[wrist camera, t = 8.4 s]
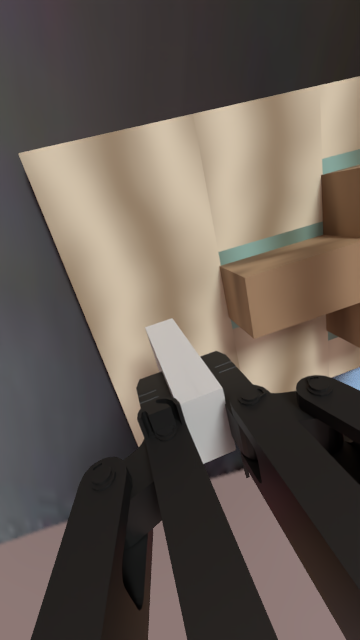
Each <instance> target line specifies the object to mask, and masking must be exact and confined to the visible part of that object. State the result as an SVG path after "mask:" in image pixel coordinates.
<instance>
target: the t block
mask: <svg viewBox="0 0 360 640" xmlns="http://www.w3.org/2000/svg"><path fill="white" fill-rule="evenodd" d="M321 185H322V214H323V235H321V236H317V237H314V238H311V239H307V240H304V241H301V242H298V243H294V244H291V245H288V246H284V247H281V248H278V249H274V250H271V251H268V252H264V253H261V254H258V255H254V256H251V257H248V258H245V259H241V260H238V261H235V262H231V263H228V264H225V265H221V266H219V267H220V272H221V278H222V283H223V289H224V294H225V299H226V305H227V310H228V315H229V318H230V319H231V320H232V321H234V322H235V323H236V324H237V325H238V326H239V327H241V328H242V329H243V330H244V331H245V332H246V333H248V334H249V335H250V336H251V337H252V338H253V339H255V338H258V337H261V336H264V335H267V334H270V333H273V332H276V331H279V330H282V329H285V328H287V327H290V326H293V325H296V324H299V323H302V322H305V321H308V320H311V319H314V318H317V317H320V316H322V315H325V314H326V330H327V331H328V332H330V333H332V334H334V335H336V336H338V337H340V338H342V339H344V340H345V341H347V342H349V343H351V344H353V345H355V346H357V347H359V348H360V165H356V166H353V167H349V168H345V169H341V170H338V171H334V172H330V173H327V174H323V175H321Z"/></svg>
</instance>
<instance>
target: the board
mask: <svg viewBox="0 0 360 640" xmlns="http://www.w3.org/2000/svg"><path fill="white" fill-rule="evenodd" d="M18 154H19V157H20V159H21V161H22V164H23V166H24V169H25V171H26V174H27V176H28V178H29V181H30V183H31V186H32V188H33V191H34V193H35V196H36V198H37V200H38V203H39V205H40V208H41V210H42V213H43V215H44V218H45V220H46V222H47V225H48V227H49V230H50V232H51V235H52V237H53V239H54V242H55V244H56V247H57V249H58V252H59V254H60V257H61V259H62V261H63V264H64V266H65V269H66V271H67V274H68V276H69V279H70V281H71V283H72V286H73V288H74V291H75V293H76V296H77V298H78V300H79V303H80V305H81V308H82V310H83V313H84V315H85V318H86V320H87V322H88V325H89V327H90V330H91V332H92V335H93V337H94V339H95V342H96V344H97V347H98V349H99V352H100V354H101V357H102V359H103V361H104V364H105V366H106V369H107V371H108V374H109V376H110V379H111V381H112V383H113V386H114V388H115V391H116V393H117V396H118V398H119V400H120V403H121V405H122V408H123V410H124V413H125V415H126V418H127V420H128V422H129V425H130V427H131V430H132V432H133V435H134V437H135V440H136V442H137V444H138V447H139V446H140V445H141V444H142V442H143V440H144V436H143V433H142V431H141V428H140V426H139V423H138V421H137V416H138V412H139V410H140V409H141V408H140V403H139V399H138V394H137V390H136V387H137V384H138V382H139V379H142V378H145V377H147V376H150V375H153V374H156V373H158V372H159V369H158V366H157V363H156V360H155V357H154V354H153V351H152V348H151V345H150V342H149V338H148V335H147V332H146V329H145V327H147V326H150V325H153V324H156V323H159V322H162V321H165V320H168V319H171V318H173V320H174V321H175V323H176V324H177V325H178V327H179V328H180V330H181V331H182V332H183V334H184V335H185V336H186V338H187V339H188V341H189V342H190V343H191V345H192V346H193V348H194V349H195V350H196V352H197V353H198V355H199V356H203V355H206V354H209V353H211V352H214V351H218V352H221V353H223V354H226V356H227V357H228V358H229V359H230V360H231V362H233V363H234V364H235V365H236V367H237V368H238V369H239V370H240V371H241V372H242V373H243V374H244V375H245V376H246V377H247V379H248V380H249V381H250V382H251V383H252V384H253V385H258V386H262V387H264V388H265V389H267V390H268V391H269V392H270V393H283V392H291V391H296V385H297V383H298V382H299V381H300V380H301V379H302V378H305V377H307V376H312V375H322V376H327V377H330V378H332V377H334V376H337V375H340V374H342V373H345V372H348V371H350V370H353V369H356V368H358V367H360V348H359V347H357V346H355V345H353V344H351V343H349V342H347V341H345V340H344V339H342V338H340V337H338V336H336V335H334V334H332V333H330V332H328V331H327V330H326V314H325V315H322V316H320V317H317V318H314V319H311V320H308V321H305V322H302V323H299V324H296V325H293V326H290V327H287V328H285V329H282V330H279V331H276V332H273V333H270V334H267V335H264V336H261V337H258V338H255V339H253V338H252V337H251V336H250V335H249V334H248V333H246V332H245V331H244V330H243V329H242V328H241V327H239V326H238V325H237V324H236V323H235V322H234V321H232V320H231V319H230V318H229V315H228V310H227V305H226V299H225V294H224V289H223V283H222V278H221V272H220V267H219V266H221V265H225V264H228V263H231V262H235V261H238V260H241V259H245V258H248V257H251V256H254V255H258V254H261V253H264V252H268V251H271V250H274V249H278V248H281V247H284V246H288V245H291V244H294V243H298V242H301V241H304V240H307V239H311V238H314V237H317V236H321V235H323V214H322V185H321V175H323V174H327V173H330V172H334V171H338V170H341V169H345V168H349V167H353V166H356V165H360V76H359V77H355V78H350V79H346V80H342V81H337V82H333V83H328V84H324V85H319V86H315V87H311V88H306V89H302V90H297V91H293V92H288V93H284V94H280V95H275V96H271V97H266V98H262V99H257V100H253V101H249V102H244V103H240V104H235V105H231V106H226V107H222V108H217V109H213V110H209V111H204V112H200V113H195V114H191V115H186V116H182V117H178V118H173V119H169V120H164V121H160V122H155V123H151V124H147V125H142V126H138V127H133V128H129V129H124V130H120V131H116V132H111V133H107V134H102V135H98V136H93V137H89V138H85V139H80V140H76V141H71V142H67V143H62V144H58V145H53V146H49V147H45V148H40V149H36V150H31V151H27V152H22V153H18Z"/></svg>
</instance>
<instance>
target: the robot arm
mask: <svg viewBox="0 0 360 640" xmlns="http://www.w3.org/2000/svg"><path fill="white" fill-rule="evenodd" d="M145 329H146V332H147V335H148V338H149V342H150V345H151V348H152V351H153V354H154V357H155V360H156V363H157V366H158V369H159V372H158V373H156V374H153V375H150V376H147V377H145V378H142V379H139V382H138V384H137V387H136V390H137V394H138V399H139V403H140V408H141V409H140V410H139V412H138V416H137V421H138V423H139V426H140V428H141V431H142V433H143V436H144V440H143V442H142V444H141V445H140V446H139V448H138V449H137V450H136V451H135V452H134V453H132V454H131V455H130V456H128V457H127V458H126V459H124V460H121V459H119V458H117V457H108V458H105V459H102V460H100V461H98V462H97V463H95V464H94V465H92V466H91V467H90V468H89V469H88V470H87V471H86V473H85V474H84V476H83V478H82V480H81V482H80V484H79V487H78V490H77V494H76V497H75V500H74V503H73V506H72V510H71V513H70V516H69V519H68V522H67V526H66V529H65V532H64V535H63V538H62V542H61V545H60V548H59V551H58V555H57V558H56V561H55V564H54V567H53V570H52V574H51V577H50V580H49V583H48V587H47V590H46V593H45V596H44V599H43V602H42V605H41V609H40V612H39V615H38V618H37V622H36V625H35V628H34V631H33V634H32V637H31V640H148V625H149V605H150V603H149V602H150V584H151V564H152V563H151V561H152V542H153V528H154V527H155V526H156V525H157V524H158V523H159V522H160V521H163V527H164V531H165V536H166V541H167V545H168V550H169V555H170V560H171V564H172V569H173V574H174V578H175V583H176V588H177V593H178V597H179V602H180V607H181V611H182V616H183V621H184V626H185V630H186V635H187V640H278V639H277V636H276V634H275V631H274V629H273V627H272V624H271V622H270V620H269V617H268V615H267V613H266V610H265V608H264V605H263V603H262V601H261V598H260V596H259V594H258V591H257V589H256V587H255V585H254V582H253V580H252V577H251V575H250V573H249V570H248V568H247V566H246V563H245V561H244V558H243V556H242V554H241V551H240V549H239V547H238V544H237V542H236V540H235V537H234V535H233V533H232V530H231V528H230V526H229V523H228V521H227V519H226V516H225V514H224V512H223V509H222V507H221V504H220V502H219V500H218V497H217V495H216V493H215V490H214V488H213V486H212V483H211V481H210V479H209V476H208V474H207V472H206V469H205V467H204V463H206V462H209V461H211V460H213V459H216V458H218V457H220V456H223V455H225V454H227V453H230V452H232V451H234V450H236V447H235V443H234V441H235V442H236V444H237V446H238V447H239V449H240V452H241V457H242V462H243V467H244V471H245V475H246V478H248V477H249V473H250V475H251V476H252V478H253V480H254V482H255V483H256V485H257V487H258V489H259V490H260V492H261V494H262V495H263V497H264V499H265V500H266V502H267V504H268V506H269V507H270V509H271V511H272V513H273V514H274V516H275V518H276V520H277V521H278V523H279V525H280V526H281V528H282V530H283V532H284V533H285V535H286V537H287V538H288V540H289V542H290V543H291V545H292V547H293V549H294V550H295V552H296V554H297V556H298V557H299V559H300V561H301V562H302V564H303V566H304V568H305V569H306V571H307V573H308V574H309V576H310V578H311V580H312V581H313V583H314V585H315V586H316V588H317V590H318V592H319V593H320V595H321V596H322V599H323V600H324V602H325V604H326V605H327V607H328V609H329V611H330V612H331V614H332V615H333V617H334V619H335V621H336V623H337V624H338V626H339V628H340V629H341V631H342V633H343V634H344V636H345V638H346V640H360V391H359V390H357V389H355V388H353V387H351V386H349V385H346V384H344V383H342V382H340V381H338V380H335V379H333V378H330V377H327V376H322V375H312V376H307V377H305V378H302V379H301V380H300V381H299V382H298V383H297V385H296V391H291V392H283V393H270V392H269V391H268V390H267V389H265V388H264V387H262V386H258V385H253V384H252V383H251V382H250V381H249V380H248V379H247V377H246V376H245V375H244V374H243V373H242V372H241V371H240V370H239V369H238V368H237V367H236V365H235V364H234V363H233V362H231V360H230V359H229V358H228V357H227V356H226V354H223V353H221V352H218V351H214V352H211V353H209V354H206V355H203V356H199V355H198V353H197V352H196V350H195V349H194V348H193V346H192V345H191V343H190V342H189V341H188V339H187V338H186V336H185V335H184V334H183V332H182V331H181V330H180V328H179V327H178V325H177V324H176V323H175V321H174V320H173V318H171V319H168V320H165V321H162V322H159V323H156V324H153V325H150V326H147V327H145Z"/></svg>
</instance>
